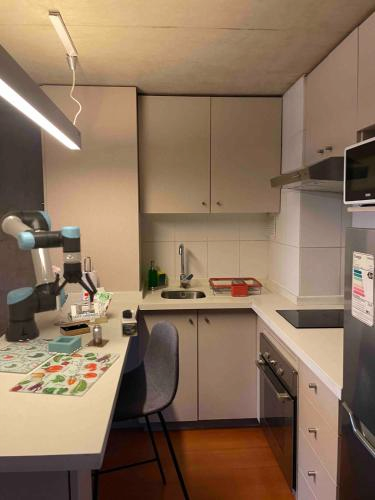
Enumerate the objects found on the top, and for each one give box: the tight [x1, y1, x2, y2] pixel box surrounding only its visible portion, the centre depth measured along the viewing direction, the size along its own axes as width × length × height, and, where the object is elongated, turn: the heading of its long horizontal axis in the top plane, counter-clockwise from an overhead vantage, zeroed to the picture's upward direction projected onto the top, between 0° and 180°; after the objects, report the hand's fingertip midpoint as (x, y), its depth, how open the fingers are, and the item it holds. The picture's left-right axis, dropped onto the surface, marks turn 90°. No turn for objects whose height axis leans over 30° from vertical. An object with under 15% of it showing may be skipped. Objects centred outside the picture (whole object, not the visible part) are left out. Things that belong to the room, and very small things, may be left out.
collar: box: [48, 335, 82, 354], centre depth 161 cm, size 10×10×5 cm
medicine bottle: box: [120, 309, 138, 338], centre depth 182 cm, size 7×7×12 cm
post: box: [85, 324, 110, 348], centre depth 169 cm, size 8×8×9 cm
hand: (74, 310), depth 162 cm, fingers open, 13 cm apart
